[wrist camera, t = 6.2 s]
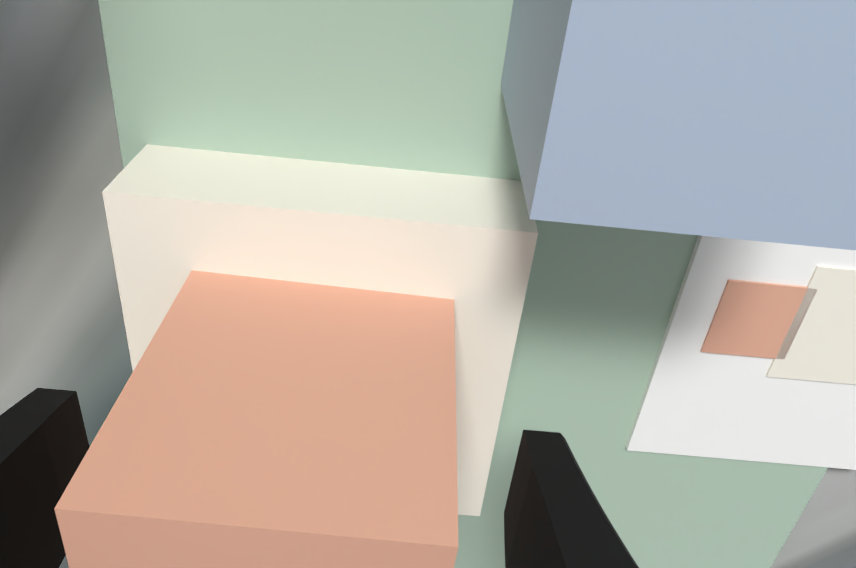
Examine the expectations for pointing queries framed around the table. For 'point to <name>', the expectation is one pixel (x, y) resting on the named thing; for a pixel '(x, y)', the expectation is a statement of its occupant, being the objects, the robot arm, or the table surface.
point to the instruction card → (757, 358)
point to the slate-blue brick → (687, 116)
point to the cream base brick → (335, 253)
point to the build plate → (474, 156)
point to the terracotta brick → (277, 435)
